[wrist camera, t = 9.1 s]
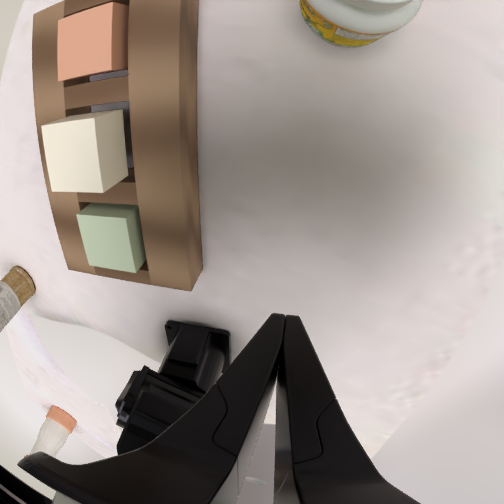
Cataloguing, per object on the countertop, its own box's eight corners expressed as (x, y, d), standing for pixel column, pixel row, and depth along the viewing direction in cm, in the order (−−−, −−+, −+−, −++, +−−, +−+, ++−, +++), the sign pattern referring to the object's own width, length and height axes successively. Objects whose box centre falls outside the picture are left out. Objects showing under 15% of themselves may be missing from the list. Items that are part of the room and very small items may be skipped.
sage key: (152, 251, 24) (136, 273, 22) (107, 245, 25) (89, 265, 22) (145, 200, 22) (125, 218, 19) (98, 197, 22) (76, 214, 20)
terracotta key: (136, 68, 17) (111, 69, 14) (85, 77, 17) (58, 81, 15) (137, 8, 14) (112, 2, 12) (85, 21, 15) (58, 20, 12)
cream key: (128, 175, 19) (103, 192, 16) (78, 175, 19) (51, 191, 17) (122, 109, 16) (94, 117, 14) (70, 115, 17) (41, 125, 14)
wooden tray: (202, 268, 26) (191, 291, 23) (85, 251, 27) (68, 269, 24) (199, -21, 14) (182, -33, 11) (58, 15, 15) (33, 14, 13)
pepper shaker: (47, 401, 56) (14, 461, 40) (69, 412, 55) (36, 476, 39) (59, 416, 60) (30, 473, 44) (81, 426, 59) (52, 486, 43)
